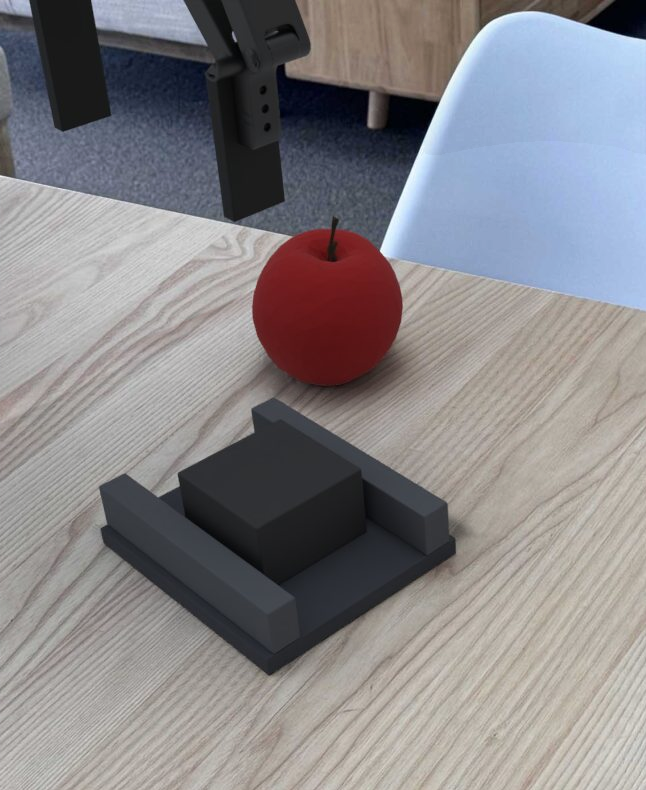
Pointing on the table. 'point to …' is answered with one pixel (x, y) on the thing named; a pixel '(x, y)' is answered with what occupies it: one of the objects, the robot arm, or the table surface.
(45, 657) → the table surface
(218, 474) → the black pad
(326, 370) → the apple
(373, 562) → the base pad
